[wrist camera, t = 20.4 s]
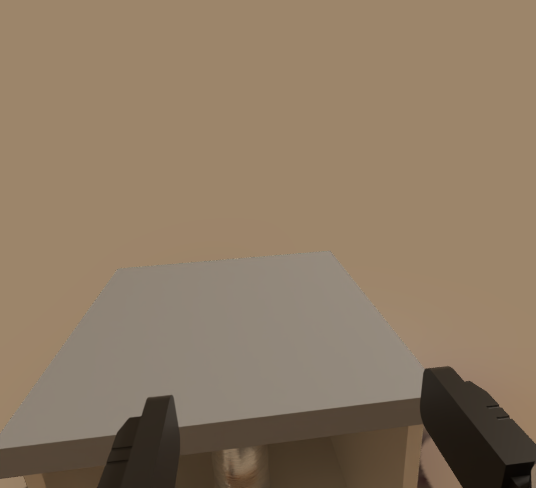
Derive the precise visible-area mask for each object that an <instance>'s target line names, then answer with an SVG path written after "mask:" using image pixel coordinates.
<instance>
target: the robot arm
mask: <svg viewBox="0 0 536 488" xmlns="http://www.w3.org/2000/svg"><path fill="white" fill-rule="evenodd" d="M420 414H421V419H422V422H423V424H424V426H425V428H426V430H427V431H428V433H429V435H430V436H431V438H432V439H433V441H434V442H435V444H436V446H437V447H438V449H439V451H440V452H441V454H442V455H443V457H444V458H445V460H446V462H447V463H448V465H449V466H450V468H451V470H452V471H453V473H454V474H455V476H456V478H457V479H458V481H459V482H460V484H461V485H462V487H463V488H536V444H535V443H534V442H533V441H532V440H531V439H530V438H529V436H528V435H526V433H525V432H524V431H523V430H522V429H521V428H520V427H519V426H518V425H517V424H516V423H515V421H514V420H513V419H510V418H509V415H508V414H507V413H506V412H505V411H504V410H503V409H502V408H500V407H499V404H498V403H497V402H496V401H495V400H494V399H493V398H492V397H491V396H490V395H489V394H488V393H487V392H486V391H485V390H483V389H482V388H480V387H478V386H477V385H475V384H474V383H472V382H470V381H466V382H464V381H463V380H462V379H461V377H460V376H459V375H458V374H457V373H456V372H455V371H454V369H452V368H451V367H449V366H447V367H437V368H428V369H425V370H424V372H423V379H422V389H421V399H420ZM179 456H180V432H179V426H178V420H177V414H176V408H175V402H174V397H173V395H165V396H156V397H148V398H147V400H146V402H145V406H144V409H143V412H142V416H139V417H130V418H128V420H127V421H126V422H125V423H124V425H123V426H122V427H121V428H120V429H119V431H118V432H117V434H116V437H115V440H114V442H113V445H112V448H111V452H110V453H109V456H108V459H107V462H106V466H105V467H104V470H103V473H102V476H101V478H100V481H99V484H98V487H97V488H175V483H176V476H177V470H178V463H179Z"/></svg>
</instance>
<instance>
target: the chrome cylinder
mask: <svg viewBox="0 0 536 488" xmlns="http://www.w3.org/2000/svg"><path fill="white" fill-rule="evenodd" d="M211 459H212V467H213V475H214V482H215V488H271V483H270V467H269V452H268V444H266V445H258V446H250V447H242V448H235V449H227V450H219V451H211Z"/></svg>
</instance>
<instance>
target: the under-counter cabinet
mask: <svg viewBox="0 0 536 488" xmlns="http://www.w3.org/2000/svg"><path fill="white" fill-rule="evenodd" d="M424 370H425V369H424V367H423V366H422V365H421V364H420V362H419V361H418V360H417V359H416V357H415V356H414V355H413V354H412V352H411V351H410V350H409V349H408V347H407V346H406V345H405V344H404V343H403V341H402V340H401V339H400V337H399V336H398V335H397V334H396V333H395V331H394V330H393V329H392V328H391V326H390V325H389V324H388V322H387V321H386V320H385V319H384V317H383V316H382V315H381V314H380V312H379V311H378V310H377V309H376V307H375V306H374V305H373V304H372V303H371V301H370V300H369V299H368V298H367V296H366V295H365V294H364V292H363V291H362V290H361V289H360V288H359V286H358V285H357V284H356V283H355V281H354V280H353V279H352V277H351V276H350V275H349V274H348V273H347V271H346V270H345V269H344V268H343V266H342V265H341V264H340V263H339V261H338V260H337V259H336V258H335V256H334V255H333V254H332V253H331V251H323V252H310V253H298V254H287V255H275V256H263V257H251V258H239V259H228V260H216V261H204V262H192V263H180V264H168V265H157V266H145V267H134V268H121V269H117V271H116V272H115V274H114V275H113V276H112V278H111V279H110V281H109V282H108V283H107V285H106V286H105V288H104V289H103V290H102V292H101V293H100V295H99V296H98V297H97V299H96V300H95V302H94V303H93V304H92V306H91V307H90V309H89V310H88V311H87V313H86V314H85V316H84V317H83V318H82V320H81V321H80V323H79V324H78V326H77V327H76V328H75V330H74V331H73V332H72V334H71V335H70V337H69V338H68V339H67V341H66V342H65V344H64V345H63V346H62V348H61V349H60V351H59V352H58V353H57V355H56V356H55V358H54V359H53V360H52V362H51V363H50V365H49V366H48V367H47V369H46V370H45V372H44V373H43V374H42V376H41V377H40V379H39V380H38V382H37V383H36V384H35V386H34V387H33V388H32V390H31V391H30V393H29V394H28V395H27V397H26V398H25V400H24V401H23V402H22V404H21V405H20V407H19V408H18V410H17V411H16V412H15V414H14V415H13V417H12V418H11V419H10V421H9V422H8V424H7V425H6V426H5V428H4V429H3V430H2V432H1V433H0V479H2V478H9V477H18V476H24V479H25V482H26V485H27V488H97V487H98V484H99V481H100V478H101V476H102V473H103V470H104V467H105V466H106V462H107V459H108V456H109V453H110V452H111V448H112V445H113V442H114V440H115V437H116V434H117V432H118V431H119V429H120V428H121V427H122V426H123V425H124V423H125V422H126V421H127V420H128V418H130V417H139V416H142V412H143V409H144V406H145V402H146V400H147V398H148V397H156V396H165V395H173V397H174V402H175V408H176V414H177V420H178V426H179V432H180V456H179V463H178V470H177V476H176V483H175V488H215V482H214V475H213V467H212V459H211V451H219V450H227V449H235V448H242V447H250V446H258V445H266V444H268V452H269V467H270V483H271V488H417V480H418V471H419V462H420V453H421V444H422V434H423V425H424V424H423V422H422V419H421V414H420V399H421V389H422V379H423V372H424Z"/></svg>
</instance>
